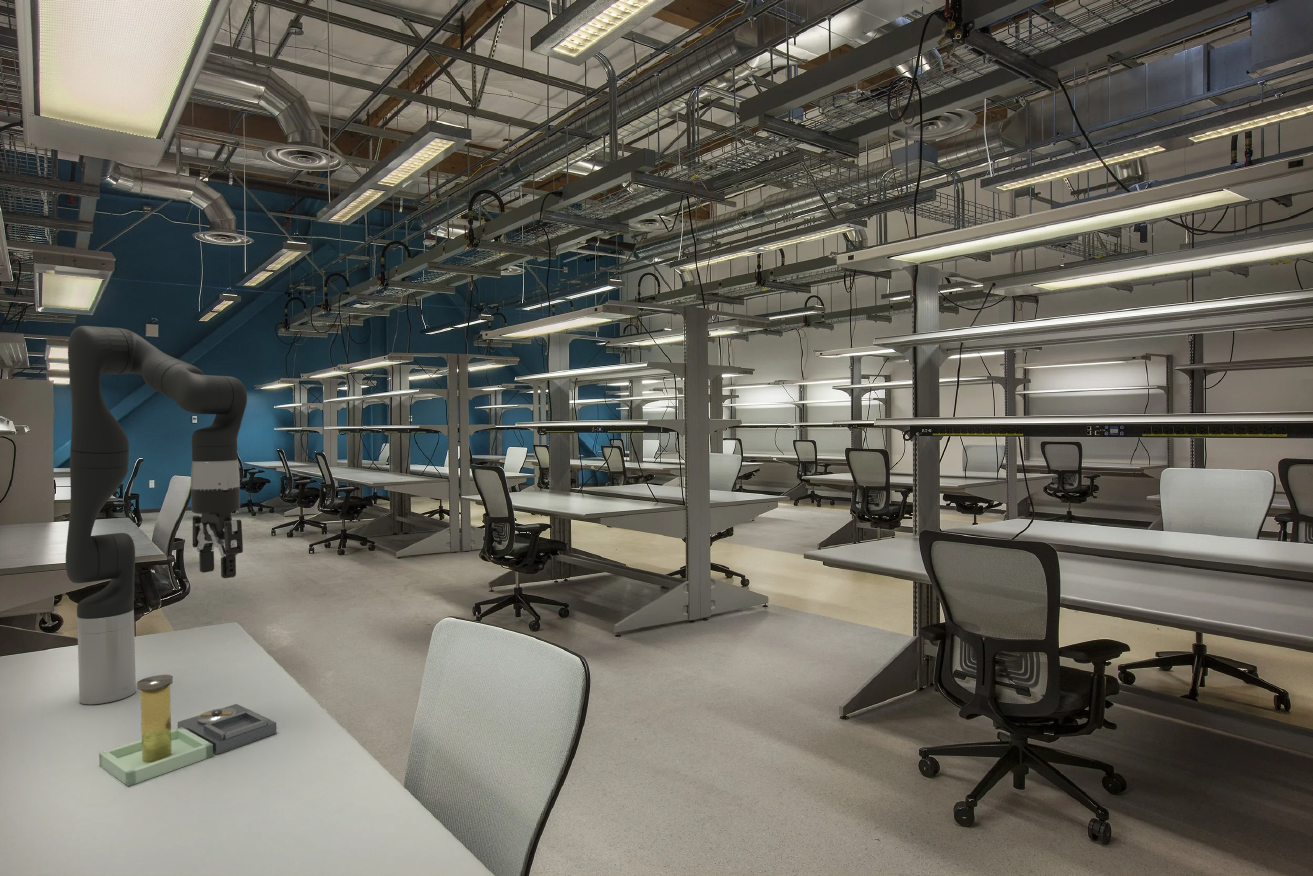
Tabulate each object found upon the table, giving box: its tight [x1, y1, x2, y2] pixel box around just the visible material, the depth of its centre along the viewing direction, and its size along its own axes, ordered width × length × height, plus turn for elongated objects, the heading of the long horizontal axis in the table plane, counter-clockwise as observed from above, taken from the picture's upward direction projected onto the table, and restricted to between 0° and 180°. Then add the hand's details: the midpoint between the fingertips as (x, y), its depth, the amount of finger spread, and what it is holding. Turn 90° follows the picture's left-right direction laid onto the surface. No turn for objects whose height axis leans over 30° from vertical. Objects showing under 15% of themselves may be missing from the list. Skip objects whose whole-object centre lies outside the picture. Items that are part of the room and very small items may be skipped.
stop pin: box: [136, 674, 174, 763], centre depth 118 cm, size 5×5×13 cm
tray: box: [98, 727, 214, 787], centre depth 118 cm, size 12×12×2 cm
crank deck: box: [177, 703, 277, 756], centre depth 128 cm, size 15×10×3 cm, turn 55°
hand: (217, 574), depth 130 cm, fingers open, 8 cm apart
